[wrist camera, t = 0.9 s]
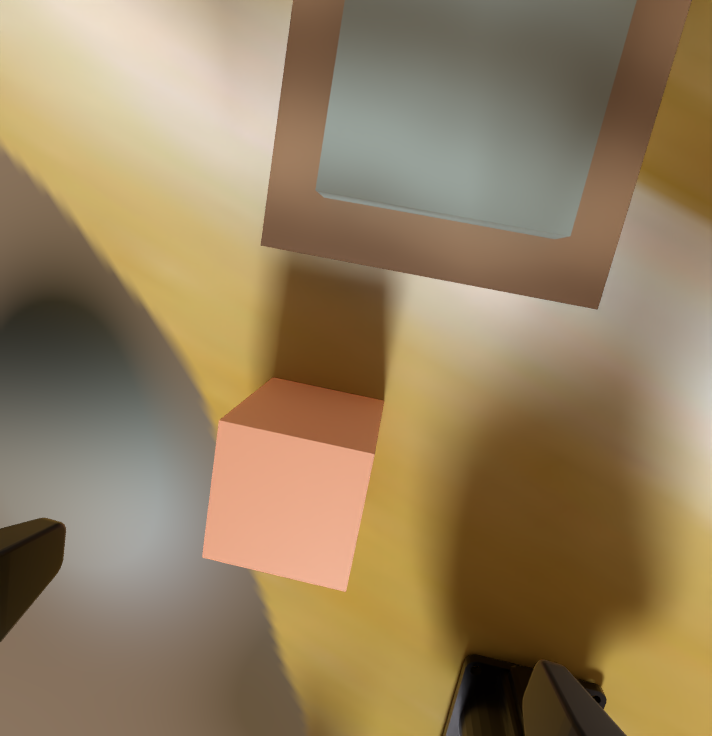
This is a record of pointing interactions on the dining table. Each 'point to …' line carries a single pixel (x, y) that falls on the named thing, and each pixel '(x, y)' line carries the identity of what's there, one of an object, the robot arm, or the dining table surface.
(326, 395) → the terracotta brick
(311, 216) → the plinth
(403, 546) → the dining table surface
